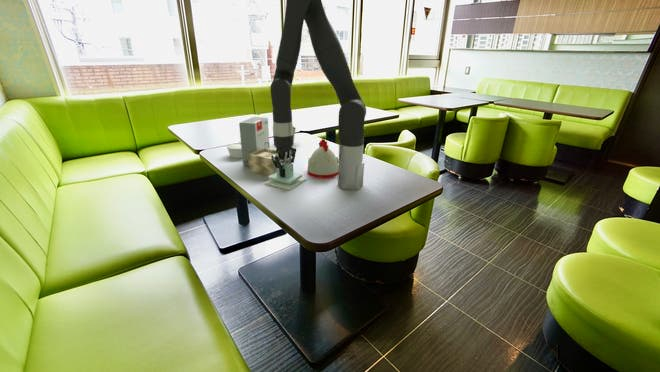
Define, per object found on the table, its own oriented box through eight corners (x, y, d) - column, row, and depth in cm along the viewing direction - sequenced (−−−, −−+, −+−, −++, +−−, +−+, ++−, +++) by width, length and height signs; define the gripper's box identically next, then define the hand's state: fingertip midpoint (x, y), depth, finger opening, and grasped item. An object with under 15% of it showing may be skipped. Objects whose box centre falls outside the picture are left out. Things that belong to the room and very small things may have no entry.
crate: (288, 169, 135) (287, 152, 131) (273, 177, 126) (272, 159, 123) (265, 164, 140) (264, 147, 137) (249, 171, 131) (248, 154, 128)
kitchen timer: (314, 180, 123) (314, 145, 117) (303, 169, 135) (302, 137, 129) (344, 175, 129) (345, 141, 123) (331, 165, 140) (331, 134, 134)
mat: (306, 179, 124) (306, 178, 123) (289, 190, 114) (289, 188, 114) (282, 174, 129) (282, 173, 128) (264, 184, 119) (264, 182, 119)
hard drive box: (258, 167, 137) (254, 123, 128) (242, 165, 138) (237, 122, 130) (270, 156, 151) (268, 117, 142) (256, 155, 152) (253, 116, 144)
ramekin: (254, 153, 156) (253, 143, 154) (246, 159, 146) (245, 149, 144) (233, 152, 157) (232, 142, 155) (224, 158, 147) (223, 148, 145)
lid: (302, 176, 122) (301, 163, 119) (289, 184, 115) (289, 169, 112) (281, 172, 126) (280, 158, 124) (268, 178, 119) (267, 164, 117)
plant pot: (295, 145, 170) (295, 130, 166) (279, 145, 170) (278, 129, 166) (297, 140, 178) (296, 126, 175) (281, 140, 179) (280, 126, 175)
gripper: (280, 138, 106) (282, 183, 113) (301, 130, 117) (302, 171, 124) (263, 136, 109) (266, 179, 116) (286, 128, 120) (288, 168, 127)
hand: (285, 175), depth 120 cm, fingers closed on lid, 3 cm apart
